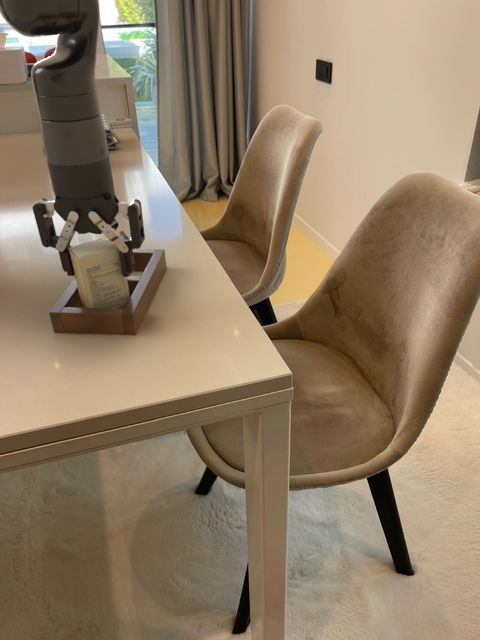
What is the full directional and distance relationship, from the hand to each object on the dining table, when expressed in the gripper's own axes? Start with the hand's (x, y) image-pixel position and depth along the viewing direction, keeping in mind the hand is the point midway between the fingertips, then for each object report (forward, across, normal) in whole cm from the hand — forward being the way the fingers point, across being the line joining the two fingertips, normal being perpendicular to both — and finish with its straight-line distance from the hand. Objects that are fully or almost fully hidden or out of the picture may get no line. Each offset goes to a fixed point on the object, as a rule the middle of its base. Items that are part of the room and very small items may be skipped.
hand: (100, 273), depth 79 cm
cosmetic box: (+8, 0, 0) cm, 8 cm away
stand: (+8, 0, -5) cm, 9 cm away
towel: (+9, +36, -101) cm, 107 cm away
